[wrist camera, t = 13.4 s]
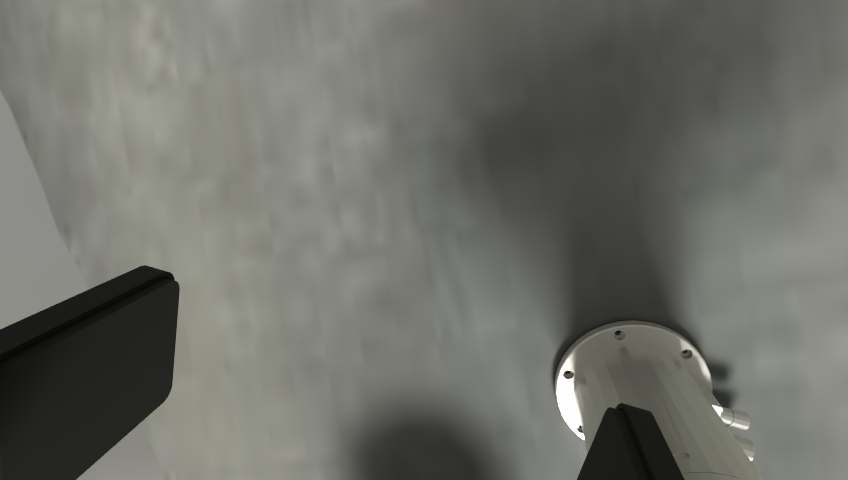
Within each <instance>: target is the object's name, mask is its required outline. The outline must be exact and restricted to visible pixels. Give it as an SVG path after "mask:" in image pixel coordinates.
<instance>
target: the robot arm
mask: <svg viewBox="0 0 848 480" xmlns="http://www.w3.org/2000/svg"><path fill="white" fill-rule="evenodd" d="M178 302H179V284H178V282H177V281H174V276H173V275H172V274H171V273H170V272H166V271H163V270H159V269H156V268H153V267H149V266H145V265H144V266H140V267H138V268H136V269H134V270H131V271H129V272H127V273H125V274H123V275H120V276H118V277H116V278H114V279H111V280H109V281H107V282H105V283H103V284H100V285H98V286H96V287H94V288H91V289H89V290H87V291H85V292H83V293H81V294H78V295H76V296H74V297H71V298H69V299H67V300H65V301H63V302H61V303H58V304H56V305H54V306H51V307H49V308H47V309H45V310H43V311H40V312H38V313H36V314H34V315H32V316H29V317H27V318H25V319H23V320H21V321H18V322H16V323H14V324H12V325H9V326H7V327H5V328H3V329H0V480H76V479H77V478H78V477H79V476H80V475H81V474H83V473H84V472H85V471H86V470H87V469H88V468H90V467H91V466H92V465H93V464H94V463H95V462H96V461H97V460H98V459H100V458H101V457H102V456H103V455H104V454H105V453H106V452H108V451H109V450H110V449H111V448H112V447H113V446H115V445H116V444H117V443H118V442H119V441H120V440H121V439H122V438H124V437H125V436H126V435H127V434H128V433H129V432H130V431H131V430H133V429H134V428H135V427H136V426H137V425H138V424H139V423H141V422H142V421H143V420H144V419H145V418H146V417H147V416H148V415H150V414H151V413H152V412H153V411H154V410H155V409H156V408H158V407H159V406H160V405H161V404H162V403H163V402H164V401H165V400H166V398H167V397H168V395H169V393H170V391H171V388H172V380H173V367H174V354H175V341H176V328H177V315H178ZM616 331H619V332H618V333H615V332H616ZM683 350H684V351H683ZM566 370H569V371H566ZM712 390H713V385H712V379H711V374H710V371H709V369H708V366H707V364H706V362H705V360H704V359H703V357H702V356H701V355H700V353H699V352H698V351H697V349H696V348H695V347H694V346H693V345H692V344H691V343H690V342H689V341H688V340H687V339H686V338H684V337H683V336H682V335H680V334H679V333H677V332H676V331H673V330H671V329H669V328H667V327H665V326H662V325H659V324H655V323H651V322H645V321H635V320H632V321H618V322H614V323H610V324H606V325H603V326H600V327H598V328H596V329H593V330H591V331H589V332H588V333H586V334H585V335H583V336H582V337H580V338H579V339H578V340H577V341H575V342H574V343H573V344H572V345H571V346H570V347H569V348H568V350H567V351H566V353H565V354H564V356H563V357H562V359H561V361H560V363H559V366H558V368H557V371H556V376H555V396H556V401H557V405H558V408H559V411H560V413H561V416H562V417H563V419H564V420H565V422H566V424H567V425H568V427H569V428H570V429H571V430H572V431H573V432H574V433H575V434H576V435H577V436H579V437H580V438H581V439H583V440H584V441H585V443H586V447H587V451H588V454H587V457H586V459H585V461H584V464H583V466H582V469H581V471H580V474H579V476H578V478H577V480H764V479H763V478H762V476H761V475H760V474H759V472H758V471H757V469H756V468H755V466H754V465H753V464H752V462H751V461H752V459H753V457H754V453H755V452H754V445H753V443H752V441H750V440H749V439H747V438H743V437H740V436H737V435H733V434H732V433H731V432H730V431H729V429H728V428H727V426H730V427H734V428H737V429H741V430H747V429H748V428H749V426H750V417H749V414H747V413H745V412H742V411H738V410H735V409H731V408H729V409H728V408H725V407H721V405H720V404H719V402H718V401H717V400H716V398H715V397H714V395H713V394H712ZM725 424H726V425H727V426H726V425H725Z"/></svg>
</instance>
